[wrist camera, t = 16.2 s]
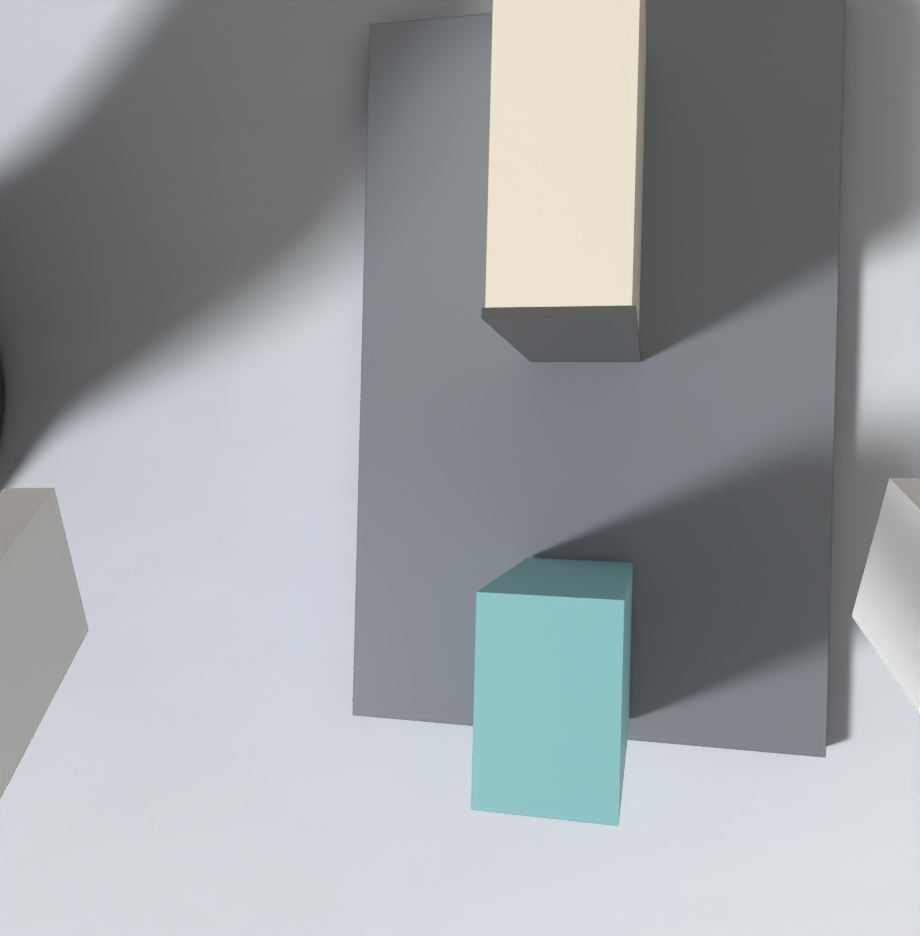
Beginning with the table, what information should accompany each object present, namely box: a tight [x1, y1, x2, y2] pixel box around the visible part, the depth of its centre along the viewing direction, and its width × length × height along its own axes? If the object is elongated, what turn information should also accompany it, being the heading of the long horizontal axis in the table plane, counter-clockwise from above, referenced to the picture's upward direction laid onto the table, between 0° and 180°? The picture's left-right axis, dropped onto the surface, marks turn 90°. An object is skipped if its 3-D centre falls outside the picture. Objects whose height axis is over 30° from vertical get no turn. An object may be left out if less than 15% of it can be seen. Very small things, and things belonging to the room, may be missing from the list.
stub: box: [471, 558, 633, 826], centre depth 29 cm, size 6×4×10 cm, turn 179°
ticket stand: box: [353, 0, 845, 757], centre depth 29 cm, size 28×18×11 cm, turn 179°
